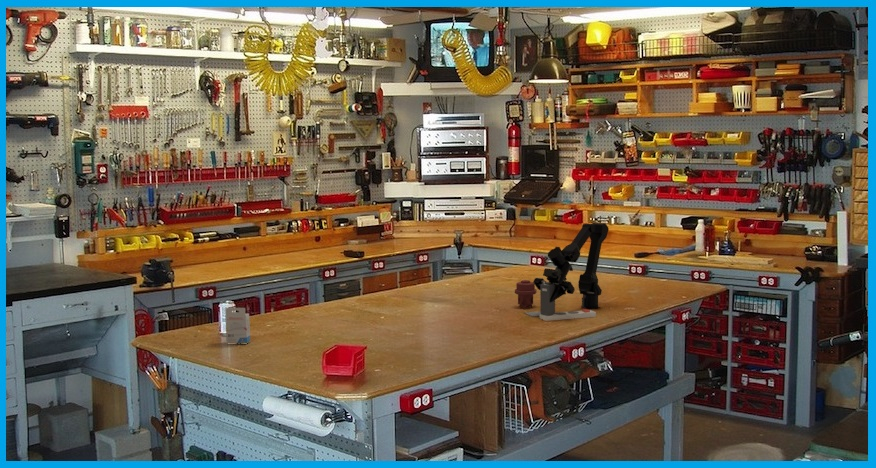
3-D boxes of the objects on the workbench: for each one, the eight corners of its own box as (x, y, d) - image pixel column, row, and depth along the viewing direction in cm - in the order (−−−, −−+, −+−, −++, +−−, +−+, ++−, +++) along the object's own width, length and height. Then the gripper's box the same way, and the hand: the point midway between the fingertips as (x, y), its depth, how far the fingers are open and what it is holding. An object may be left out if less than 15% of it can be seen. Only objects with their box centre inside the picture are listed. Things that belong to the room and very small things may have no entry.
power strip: (589, 314, 455) (589, 308, 455) (595, 316, 449) (596, 310, 449) (539, 318, 448) (539, 311, 448) (545, 320, 442) (545, 314, 442)
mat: (541, 312, 461) (541, 311, 461) (548, 315, 453) (548, 314, 453) (525, 313, 459) (525, 312, 459) (531, 316, 451) (531, 316, 451)
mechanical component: (537, 305, 478) (535, 309, 468) (516, 305, 480) (513, 309, 470) (537, 279, 476) (535, 282, 466) (516, 278, 478) (513, 282, 468)
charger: (546, 312, 449) (546, 283, 447) (555, 313, 446) (555, 284, 444) (540, 314, 445) (540, 284, 444) (548, 315, 442) (548, 285, 441)
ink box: (250, 342, 409) (249, 305, 407) (247, 344, 404) (245, 307, 402) (230, 341, 410) (228, 305, 408) (226, 344, 405) (224, 307, 403)
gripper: (535, 259, 452) (520, 287, 445) (570, 263, 440) (556, 292, 433) (546, 275, 459) (531, 303, 452) (581, 279, 446) (566, 307, 439)
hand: (545, 301), depth 444 cm, fingers closed on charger, 4 cm apart
